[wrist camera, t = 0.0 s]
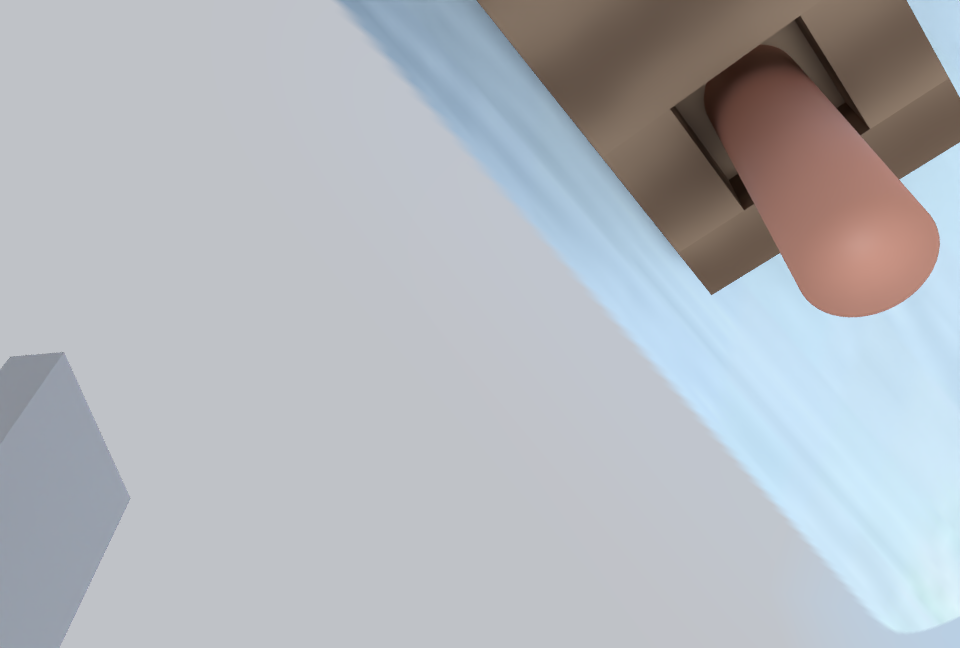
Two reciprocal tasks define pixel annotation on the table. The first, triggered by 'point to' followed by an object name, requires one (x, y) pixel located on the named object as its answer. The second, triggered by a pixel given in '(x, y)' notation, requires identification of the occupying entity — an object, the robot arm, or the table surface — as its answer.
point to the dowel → (820, 188)
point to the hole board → (680, 98)
